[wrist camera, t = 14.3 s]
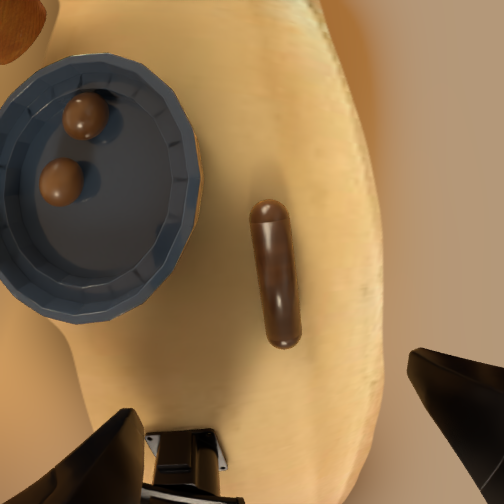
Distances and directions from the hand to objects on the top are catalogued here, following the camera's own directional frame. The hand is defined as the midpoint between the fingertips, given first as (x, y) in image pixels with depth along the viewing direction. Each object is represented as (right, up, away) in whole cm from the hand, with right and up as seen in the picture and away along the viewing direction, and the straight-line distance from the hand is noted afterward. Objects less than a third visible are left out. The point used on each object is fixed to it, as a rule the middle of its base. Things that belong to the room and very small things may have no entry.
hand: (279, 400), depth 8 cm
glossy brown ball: (-13, +9, +6) cm, 17 cm away
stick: (+1, +3, +12) cm, 12 cm away
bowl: (-11, +9, +9) cm, 17 cm away
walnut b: (-12, +13, +5) cm, 18 cm away
